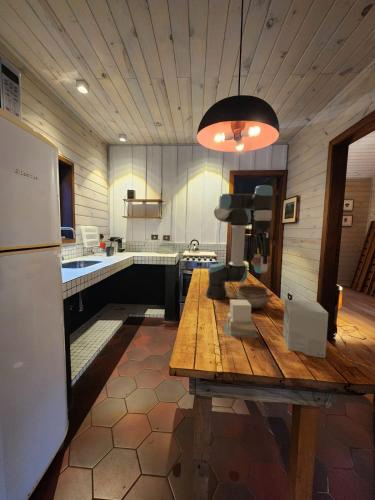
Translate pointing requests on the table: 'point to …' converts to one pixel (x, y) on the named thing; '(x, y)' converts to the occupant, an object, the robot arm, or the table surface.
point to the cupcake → (258, 263)
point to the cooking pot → (253, 295)
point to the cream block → (240, 310)
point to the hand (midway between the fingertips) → (260, 269)
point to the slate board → (237, 335)
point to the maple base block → (240, 326)
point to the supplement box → (305, 327)
